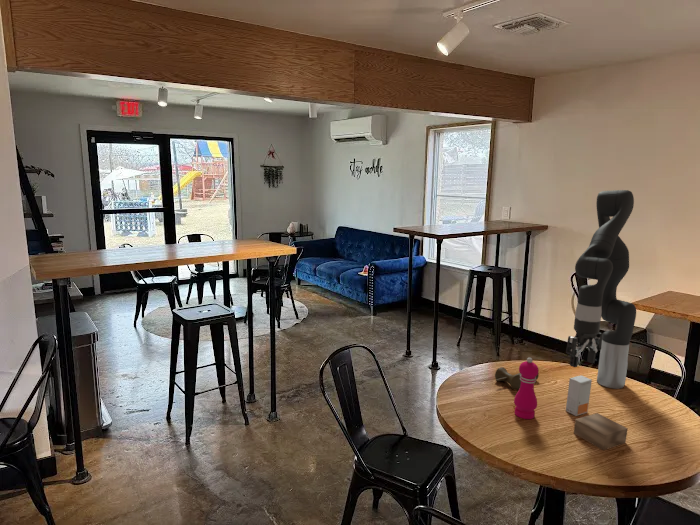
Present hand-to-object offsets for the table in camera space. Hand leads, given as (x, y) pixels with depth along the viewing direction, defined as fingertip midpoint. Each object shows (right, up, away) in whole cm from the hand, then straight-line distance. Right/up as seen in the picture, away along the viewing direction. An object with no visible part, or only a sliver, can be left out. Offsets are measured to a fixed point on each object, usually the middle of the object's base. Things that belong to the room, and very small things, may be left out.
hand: (582, 364), depth 155 cm
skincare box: (0, -17, +3) cm, 17 cm away
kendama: (-14, -13, +25) cm, 31 cm away
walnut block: (-1, -20, -13) cm, 24 cm away
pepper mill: (-19, -17, 0) cm, 26 cm away
